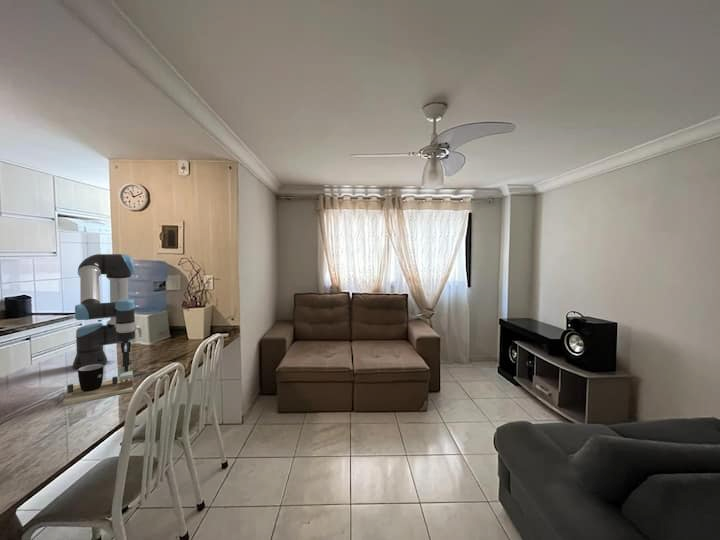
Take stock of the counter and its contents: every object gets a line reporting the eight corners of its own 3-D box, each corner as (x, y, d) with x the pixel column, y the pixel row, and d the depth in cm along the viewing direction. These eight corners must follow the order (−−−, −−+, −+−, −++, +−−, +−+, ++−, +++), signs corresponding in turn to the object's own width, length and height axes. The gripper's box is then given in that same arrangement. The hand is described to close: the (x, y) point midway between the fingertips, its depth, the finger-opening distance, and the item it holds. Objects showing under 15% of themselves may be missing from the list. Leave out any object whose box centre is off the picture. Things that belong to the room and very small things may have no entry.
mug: (99, 391, 142) (99, 369, 142) (74, 394, 139) (74, 371, 138) (109, 381, 153) (108, 361, 153) (86, 384, 150) (85, 363, 149)
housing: (120, 383, 151) (119, 372, 151) (132, 381, 154) (132, 370, 154) (119, 387, 146) (119, 376, 146) (132, 385, 149) (132, 374, 149)
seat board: (70, 389, 148) (70, 379, 148) (132, 378, 162) (132, 369, 162) (62, 405, 132) (62, 395, 131) (132, 391, 146) (132, 382, 146)
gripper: (116, 329, 156) (117, 376, 157) (115, 334, 145) (116, 384, 146) (134, 327, 160) (135, 372, 161) (135, 332, 150) (136, 380, 151)
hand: (126, 378), depth 154 cm, fingers closed
